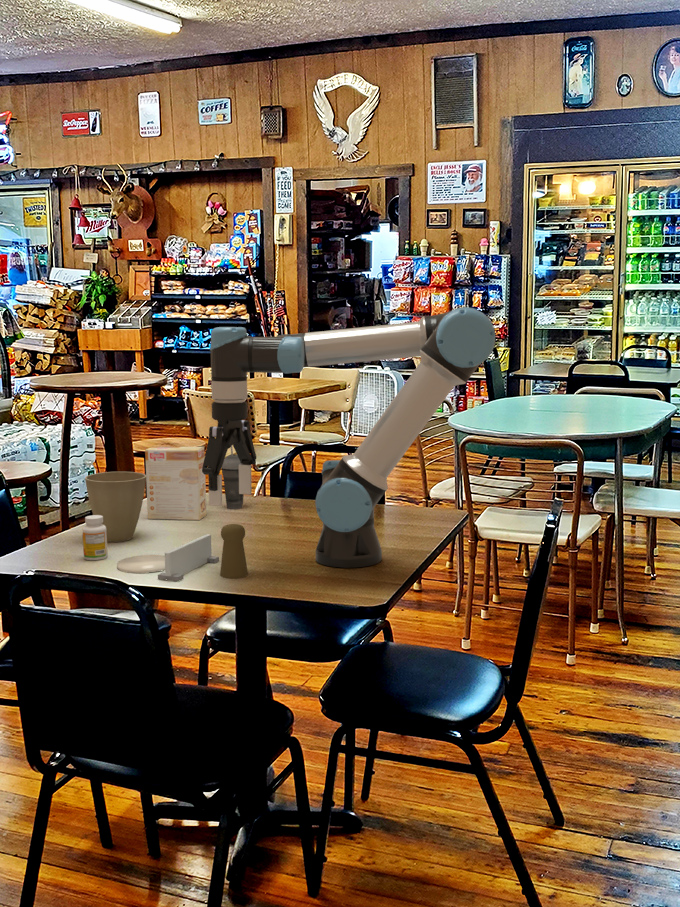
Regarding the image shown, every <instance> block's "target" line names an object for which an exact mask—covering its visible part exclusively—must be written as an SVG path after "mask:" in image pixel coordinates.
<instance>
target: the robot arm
mask: <svg viewBox="0 0 680 907" xmlns="http://www.w3.org/2000/svg"><path fill="white" fill-rule="evenodd" d="M493 325H494V324H493V323H492V321H491V320H490V318H489V317H488V316H487V315H486V314H485V313H484V312H482V311H480V310H478V309H477V308H474V307H468V306H465V307H463V306H462V307H457V308H455V309H452V310H449V311H446V312H444V313H439V314H435V315H425V316H422V317H421V318H420V319H419V321H412V322H403V323H393V324H382V325H380V324H379V325H373V326H372V325H371V326H362V327H354V328H352V327H351V328H342V329H333V330H332V329H331V330H324V331H323V330H322V331H311V332H305V333H303V332H302V333H292V334H287V333H285V334H279V335H276V336H250V335H248V333H247V328H246V327H242V326H238V327H237V326H219V327H218V326H217V327H214V328H213V329H212V330H211V332H210V333H211V335H210V348H209V351H210V373H211V378H210V380H211V385H210V389H211V399H212V400H214V401H212V403H211V419H212V420H214V421H217V426H209V429H208V441H207V445H206V450H205V452H204V453H205V458H204V463H203V467H202V472H203V474H205V476H206V475H207V476H208V506H212V507H223V474H220V472H221V471H222V469H221V468H222V464H223V462H224V459H225V458H226V457H227V456H226V455H227V453H228V450H229V449H231V445H232V448H233V449H234V451H235V454H236V455H238V458H239V460H240V462H241V464H240V465H239V494H244V495H247V496H250V495H252V489H253V488H252V465H256V463H257V454H256V449H255V445H254V441H253V438H252V434H251V429H250V426H251V425H250V421H249V420H246V419H248V417H249V416H248V402H247V401H246V400H248V376H247V375H248V373H251V374H252V373H267V374H287V375H288V374H292V373H293V374H295V373H301V372H302V371H303V370H304V368H309V367H320V366H321V367H322V366H330V365H342V364H351V363H364V362H365V363H366V362H373V361H374V362H375V361H384V360H396V359H405V358H406V359H408V358H417V357H420V363H419V364H418V365H417V366H416V368H415V369H414V370H413V372H412V373H411V374H410V376H409V378H408V379H407V380H406V382H405V383H404V385H402V387H401V389H400V390H399V391H398V392H397V394H396V396H395V397H394V398H393V399H392V401H391V402H390V403H389V405H388V407H386V409H385V411H384V412H383V413H382V415H381V416H380V417H379V419H378V420H377V421H376V423H375V424H374V426H373V427H372V428H371V429H370V431H369V432H368V434H367V435H366V436H365V438H364V439H363V441H362V442H361V443H360V445H359V446H358V448H357V449H356V450H355V451H354V453H352V454H348V455H343V456H342V457H341V459H340V460H335V459H334V460H331V459H330V460H326V461H324V462H323V463H322V469H321V476H322V483H321V485H320V488H319V489H318V490H317V492H316V496H315V502H314V503H315V509H316V510H315V511H316V513H317V515H318V518H319V519H320V521H321V522H322V529H321V532H320V536H319V539H318V542H317V544H316V549H315V562H317V563H318V564H320V565H322V566H327V567H332V568H347V569H348V568H350V569H351V568H360V567H361V568H363V567H364V568H365V567H369V566H374V565H376V564H379V563H381V561H382V559H383V556H382V555H383V553H382V552H383V550H382V547H381V543H380V541H379V538H378V534H377V532H376V528H375V507H376V505H377V504H378V503H379V501H380V500H381V498H382V497H383V496H384V495H385V493H386V492H387V490H388V488H389V487H388V480H387V479H388V477H389V476H390V474H391V473H392V472H393V470H394V469H395V468H396V466H397V464H398V463H399V462H400V461H401V460H402V458H403V457H404V455H405V454H406V452H407V451H408V450H409V448H410V447H411V446H412V444H413V443H414V441H415V440H416V439H417V438H418V436H419V435H420V433H421V432H422V430H424V428H425V426H426V425H427V424H428V422H429V421H430V420H431V418H432V417H433V416H434V415H435V413H436V412H437V411H438V409H439V408H440V406H441V404H443V402H444V401H445V399H446V398H447V397H448V395H449V394H450V393H451V391H452V390H453V389H454V387H456V386H459V385H465V384H466V383H467V382H468V381H469V379H470V378H471V377H472V375H473V374H474V373H475V371H476V370H477V369H478V367H479V366H480V365H481V364H482V363H484V361H486V360H487V359H488V358H489V357H490V355H491V354H492V352H493V350H494V348H495V344H496V332H495V328H494V326H493Z"/></svg>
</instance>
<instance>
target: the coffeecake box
mask: <svg viewBox="0 0 680 907" xmlns="http://www.w3.org/2000/svg"><path fill="white" fill-rule="evenodd" d="M205 453H206V452H205V446H151V447H149V448H146V449H145V450H144V454H145V457H144V458H145V475H146V483H145V484H146V501H147V502H146V504H147V506H146V507H147V519H148V520H178V521H179V520H180V521H181V520H183V521H184V520H185V521H187V520H188V521H200V520H201V519H203V518H205V517H206V516H207V490H206V487H207V486H206V475H205V474H203V472H202V467H203V463H204V458H205Z"/></svg>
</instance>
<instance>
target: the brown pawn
mask: <svg viewBox="0 0 680 907" xmlns="http://www.w3.org/2000/svg"><path fill="white" fill-rule="evenodd" d="M245 529H246V528H244V526H243V525H241V524H237V523H231V524H230V523H229V524H226V525H224V526H222V528H221V530H220V536H221V539H222V540H223V542H222V552H221V564H220V570H219V571H220V572H219V576H220V577H222V578H225V579H242V578H244V577H245V578H246V577H247V576H248V575H249V571H248V566H247V565H248V564H247V559H246V553H245V546H244V538H245V536H246V530H245Z"/></svg>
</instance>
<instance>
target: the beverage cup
mask: <svg viewBox="0 0 680 907" xmlns="http://www.w3.org/2000/svg"><path fill="white" fill-rule="evenodd" d="M233 449H234V448H233V445H231V447H230V454H229V455H227V456H225V459H224V462H223V464H222V467H221V475H222V480H223V486H224V496H225V502H226V509H228V510H240V508H241V509H243V508H244V507H243V505H244V495H245V494H239V465H240V464H241V462H240V460H239V458H238V455H237V454H234V452H233V451H234V450H233ZM242 507H243V508H242Z"/></svg>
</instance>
